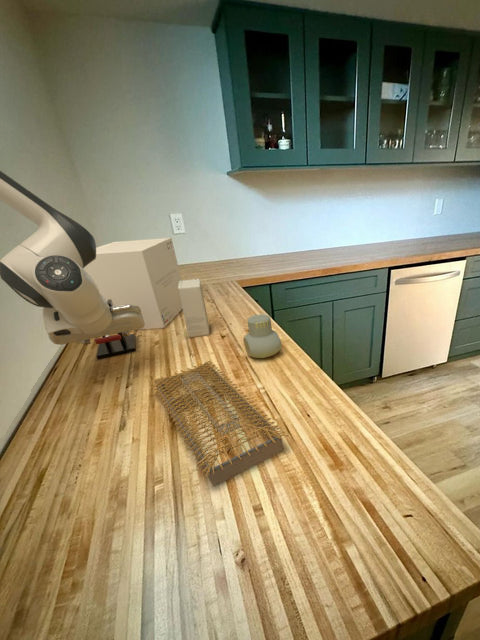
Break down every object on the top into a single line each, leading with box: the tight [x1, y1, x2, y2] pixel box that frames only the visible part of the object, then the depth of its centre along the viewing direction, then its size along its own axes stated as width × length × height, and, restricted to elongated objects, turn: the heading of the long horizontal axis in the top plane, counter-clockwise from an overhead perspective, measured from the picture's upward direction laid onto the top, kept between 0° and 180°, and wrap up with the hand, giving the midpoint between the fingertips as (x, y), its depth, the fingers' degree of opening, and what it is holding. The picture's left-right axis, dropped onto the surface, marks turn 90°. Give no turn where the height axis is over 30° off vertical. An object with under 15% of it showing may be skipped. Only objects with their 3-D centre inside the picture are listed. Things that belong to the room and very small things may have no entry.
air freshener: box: [242, 313, 282, 359], centre depth 88 cm, size 11×8×10 cm
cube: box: [83, 237, 183, 330], centre depth 117 cm, size 25×21×24 cm
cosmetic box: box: [178, 278, 210, 338], centre depth 103 cm, size 8×7×16 cm
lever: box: [94, 334, 121, 345], centre depth 92 cm, size 13×6×2 cm, turn 25°
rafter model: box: [148, 360, 290, 487], centre depth 65 cm, size 35×14×6 cm, turn 34°
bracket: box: [96, 299, 137, 361], centre depth 97 cm, size 12×10×14 cm
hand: (107, 337), depth 88 cm, fingers open, 8 cm apart
